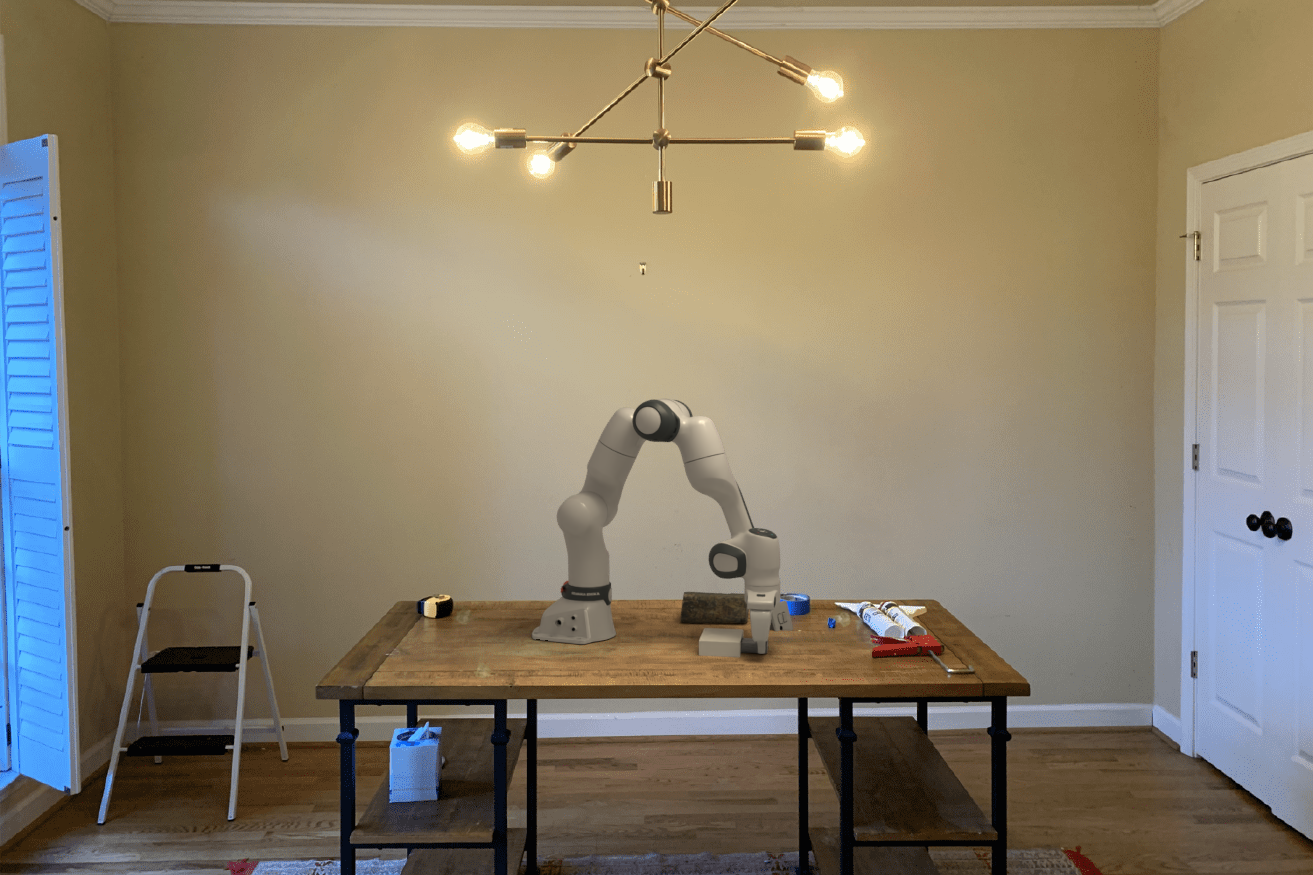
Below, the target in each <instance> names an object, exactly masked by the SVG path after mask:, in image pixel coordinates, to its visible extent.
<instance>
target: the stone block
mask: <svg viewBox="0 0 1313 875" xmlns="http://www.w3.org/2000/svg"><path fill="white" fill-rule="evenodd" d="M749 615H750V609H748V608H747V603H746V602H745V593H736V592H735V593H733V592H731V593H722V592H718V593H717V592H705V591H704V592H701V591H685V592H683V596H682V602H681V611H680V618H679V619H680V623H684V624H731V623H733V624H744V623H747V622H748V619H749Z"/></svg>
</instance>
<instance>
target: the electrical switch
mask: <svg viewBox="0 0 1313 875" xmlns="http://www.w3.org/2000/svg"><path fill="white" fill-rule="evenodd" d="M789 610H790V609H789V606H788V602H787V601H786V600H780V602H779V603H778V604H777V605H776V606H775V609H773V611H772V618H771V624H770V630H769V631H774V632H779V631H793V630H794V627H793V622H792V618H791V614H790V611H789Z"/></svg>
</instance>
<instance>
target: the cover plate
mask: <svg viewBox="0 0 1313 875" xmlns="http://www.w3.org/2000/svg"><path fill="white" fill-rule="evenodd" d="M768 650H769V639H768V640H767V641H766V644H765V653H764V654H768V652H769V651H768ZM742 653H745V654H746V653H750V654H759V653H758V645H757V641H753V638H752V637H744V638H742V639H741V654H742Z"/></svg>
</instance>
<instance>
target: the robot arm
mask: <svg viewBox="0 0 1313 875" xmlns="http://www.w3.org/2000/svg"><path fill="white" fill-rule="evenodd" d="M646 441H648V442H653V443H673V444H675V445H676V446H677V447H678V449H679V452H680V456H681V458H682V463H683V467H684V471H685V475H686V477H687V480H688V482H689V483H690V485H691V487H692V489H694V490H695V491H697V492H698V493H700V494H702V495H705V496H707V497H709V498H711V499H713V500H714V501H715V502H716V503H717V504H718V505H719V506H720V508H721V510H722V513H723V515H724V518H725V522H726V524H727V527H728V529H729V532H730V538H729V539H725V540H722V541H720V542H718V543H716V544H714V545H713V546H712V547H711V548H710V550H709V552H708V566H709V568H710V569H711V571H712V573H713V575H716V577H718V578H720V579H724V580H725V579H726V580H732V579H738V578H742V579H743V581H744V594H745V602H746V603H747V608H748V609H749V621H750V629H751V631H750V632H751V638H753V641H757V645H758V653H757V654H763V655H764V654H766V653H765V644H766V641H767V640H768V641H769V636H770V635H769V634H770V631H771V630H770V625H771V618H772V611H773V609H775V606H776V605H777V604H778V603H779V602H781V580H780V568H781V547H780V541H779V538H778V536H777V534H776V533H775V532H773V531H772V530H770V529H767V528H761V527H755V525H754V523H753V521H752V517H751V516H750V513H749V510H748V506H747V503H746V501H745V498H744V496H743V493H742V490H741V488H740V486H739V484H738V482H737V480H736V479H735V476H734V474H733V473H732V470H731V467H730V464H729V461H728V460H729V459H728V456H727V453H726V450H725V447H724V443H723V441H722V438H721V436H720V434H719V431H718V429H717V426H716V425H715V422H714V421H713V420H712V419H711V418H710V417H708V416H705V415H694V416H693V413H692V411H691V409H690V408H689V406H688V405H687V404H686V403H684V402H682V401H680V400H677V399H671V398H658V399H653V398H652V399H649V400H645V401H644V402H642V403H640V404H639V405H638V406H637V407H636V408H632V407H627V406H626V407H620V408H618V409H617V410H616V411H615V412H614V413H613V415H612V416H611V417H610V418H609V420H608V422H607V424H606V425H605V427H604V428H603V430H602V432H601V434H600V436H599V439H598V440H597V442H596V445H595V447H594V449H593V451H592V453H591V456H590V458H589V460H588V463H587V465H586V469H587V471H586V475H585V476H586V477H585V480H584V483H583V485H582V486H583V487H582V489H581V490H580V491H579V492H578V493H576V494H573V495H571V496H569V497H567V498H566V499H565V500H564V501H563V502H562V503H561V505H560V506H558V507H559V508H558V509H557V513H556V522H557V526H558V527H559V529H560V530H561V531H562V534H563V537H564V543H565V546H566V552H567V565H568V566H567V567H568V568H567V569H568V571H567V572H568V574H567V575H568V580H566V581H564V582H563V583H562V585H561V588H560V593H561V597H560V598H559V599H557V600H556V601H555V602H553V603H552V604H551V605H550V606H548V607H547V608H546V609H545V610H544V611H543V613H542V614H541V619H540V625H539V626H537V627H535V628H534V629H533V630H532V633H531V638H532V639H533V640H536V639H540V640H539V641H545V640H548V641H547V642H555V643H556V642H557V643H563V644H564V643H566V644H575V645H586V644H590V643H594V642H599V641H604V640H605V641H606V640H608V639H612V638H614V637H615V636H616V635H617V632H616V629H615V625H614V619H613V615H612V607H611V603H612V600H613V599H612V598H613V591H612V589H613V588H612V582H611V581H610V553H609V551H608V550H607V547H606V544H605V540H604V533H603V528H606V527H607V526H608V525H610V524H611V522H612V521H613V520H614V519H615V517H616V516H617V513H618V509H619V504H620V501H621V498H622V493H623V490H624V487H625V484H626V481H627V479H628V476H629V474H630V472H631V470H632V469H633V466H634V464H635V462H636V460H637V457H638V455H639V454H640V451H641V448H642V446H643V445H644V444H645V442H646Z"/></svg>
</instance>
